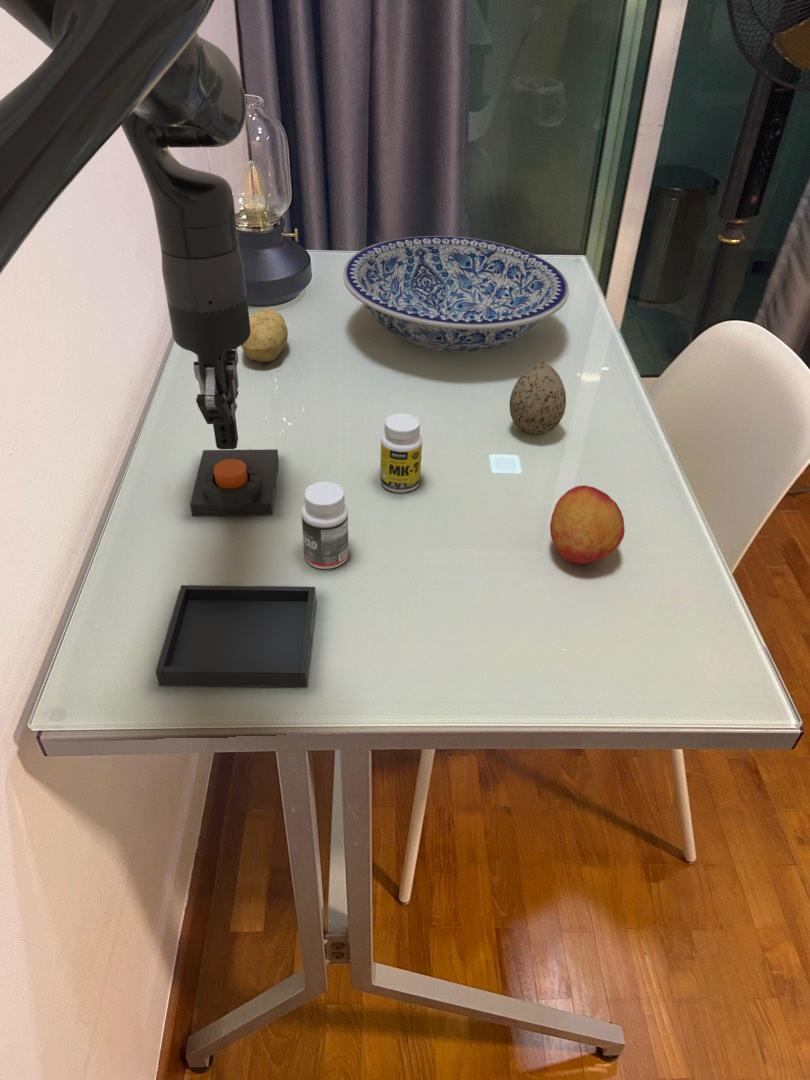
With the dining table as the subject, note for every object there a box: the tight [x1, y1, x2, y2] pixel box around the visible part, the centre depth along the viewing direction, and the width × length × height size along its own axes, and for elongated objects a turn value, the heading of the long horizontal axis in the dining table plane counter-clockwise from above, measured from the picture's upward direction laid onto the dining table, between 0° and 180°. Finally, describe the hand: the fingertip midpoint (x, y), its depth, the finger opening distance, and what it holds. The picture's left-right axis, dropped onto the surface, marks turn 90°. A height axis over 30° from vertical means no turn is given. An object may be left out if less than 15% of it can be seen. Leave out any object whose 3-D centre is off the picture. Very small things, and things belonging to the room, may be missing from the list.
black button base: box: [189, 449, 279, 517], centre depth 95 cm, size 12×9×4 cm
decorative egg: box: [509, 361, 567, 437], centre depth 104 cm, size 7×7×10 cm
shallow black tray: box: [155, 584, 317, 688], centre depth 77 cm, size 13×11×2 cm
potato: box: [240, 308, 289, 363], centre depth 120 cm, size 7×11×6 cm, turn 172°
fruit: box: [549, 484, 626, 565], centre depth 86 cm, size 8×8×8 cm
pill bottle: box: [301, 481, 350, 570], centre depth 84 cm, size 5×5×8 cm
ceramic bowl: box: [342, 235, 570, 353], centre depth 126 cm, size 34×34×10 cm
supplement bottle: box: [379, 412, 423, 494], centre depth 95 cm, size 5×5×8 cm
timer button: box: [214, 459, 248, 489], centre depth 91 cm, size 4×4×2 cm
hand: (227, 445), depth 89 cm, fingers closed
